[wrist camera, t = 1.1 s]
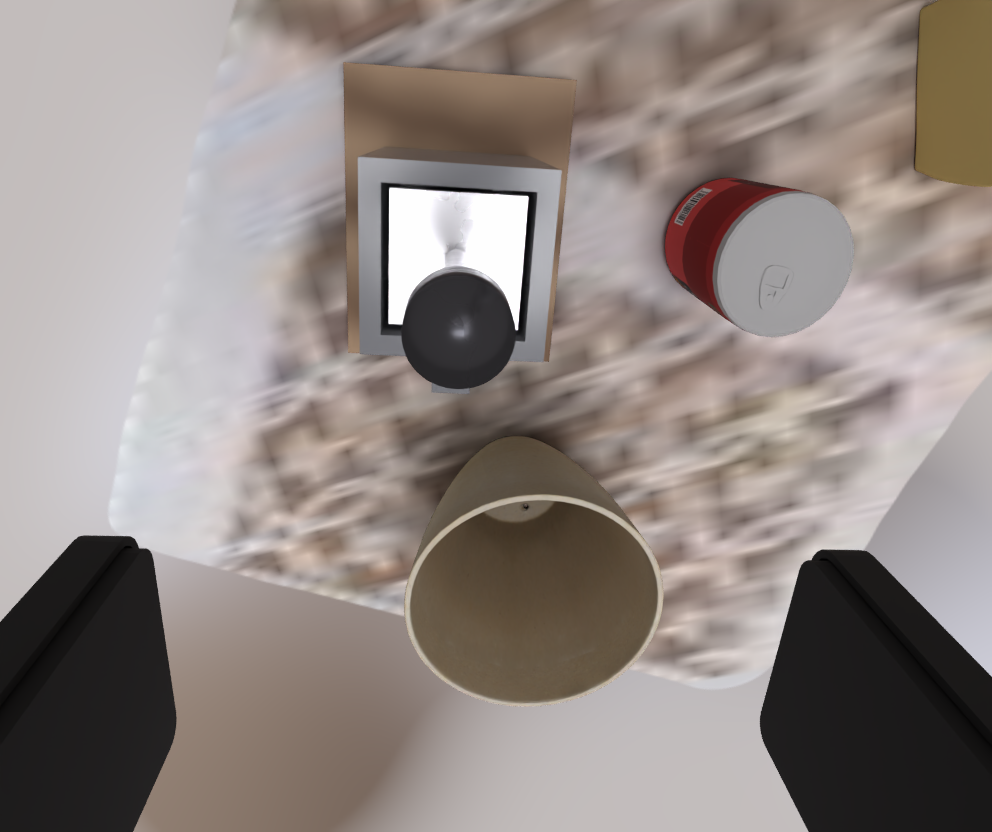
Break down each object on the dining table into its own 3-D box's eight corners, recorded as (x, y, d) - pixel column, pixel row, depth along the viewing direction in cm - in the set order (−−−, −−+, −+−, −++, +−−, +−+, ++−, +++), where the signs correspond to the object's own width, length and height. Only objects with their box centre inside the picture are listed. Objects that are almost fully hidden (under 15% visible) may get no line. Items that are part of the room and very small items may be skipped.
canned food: (657, 297, 50) (710, 342, 40) (664, 178, 47) (723, 194, 36) (763, 292, 50) (842, 335, 40) (777, 174, 47) (867, 188, 37)
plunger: (390, 186, 33) (354, 225, 20) (526, 194, 33) (570, 237, 21) (389, 319, 35) (356, 425, 23) (516, 325, 36) (549, 432, 23)
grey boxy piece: (385, 146, 43) (357, 156, 30) (529, 156, 44) (561, 170, 31) (384, 327, 48) (360, 403, 35) (515, 334, 49) (538, 410, 36)
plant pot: (468, 357, 51) (474, 453, 36) (642, 437, 54) (713, 554, 39) (386, 519, 55) (362, 662, 41) (550, 583, 59) (583, 737, 44)
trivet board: (346, 64, 43) (343, 62, 41) (572, 81, 44) (576, 80, 43) (351, 346, 50) (348, 352, 48) (546, 355, 51) (548, 361, 49)
